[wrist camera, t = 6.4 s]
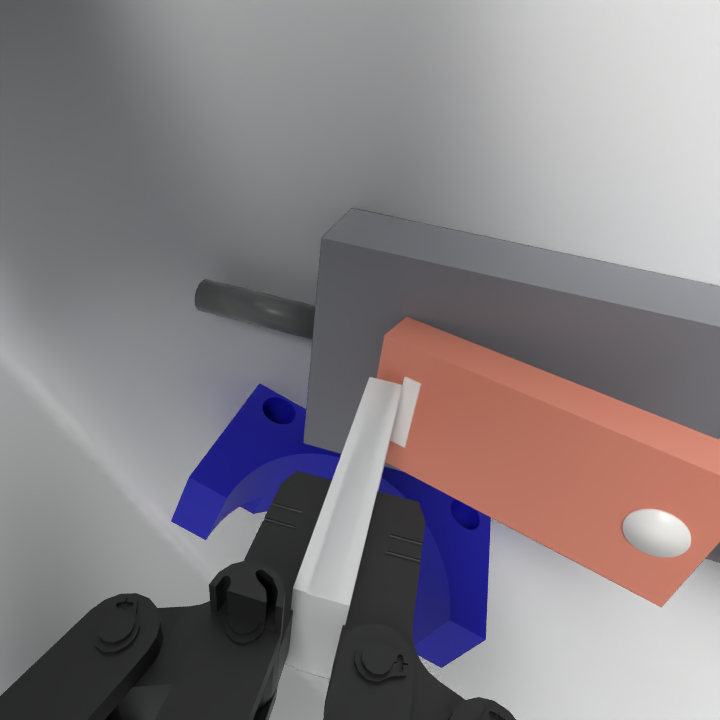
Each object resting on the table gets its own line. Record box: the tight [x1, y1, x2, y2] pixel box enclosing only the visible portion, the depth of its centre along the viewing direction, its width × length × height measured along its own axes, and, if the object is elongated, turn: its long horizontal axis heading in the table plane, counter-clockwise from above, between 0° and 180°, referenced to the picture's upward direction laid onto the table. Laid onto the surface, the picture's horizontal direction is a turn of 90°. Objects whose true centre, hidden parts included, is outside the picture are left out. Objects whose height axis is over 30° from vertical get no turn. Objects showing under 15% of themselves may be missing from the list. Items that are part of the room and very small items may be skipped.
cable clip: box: [171, 384, 491, 668], centre depth 21 cm, size 12×4×6 cm, turn 62°
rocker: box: [377, 317, 720, 607], centre depth 13 cm, size 9×4×2 cm, turn 82°
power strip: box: [195, 208, 720, 562], centre depth 16 cm, size 31×8×3 cm, turn 80°
